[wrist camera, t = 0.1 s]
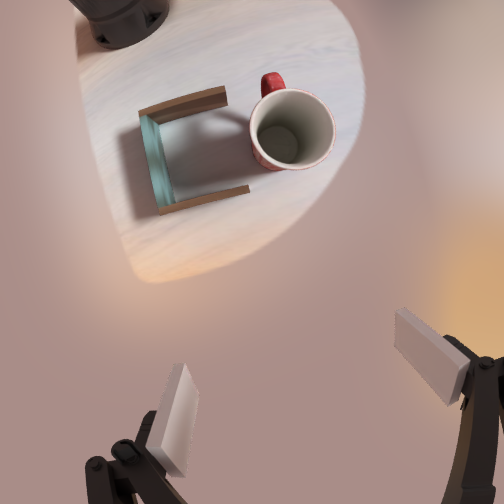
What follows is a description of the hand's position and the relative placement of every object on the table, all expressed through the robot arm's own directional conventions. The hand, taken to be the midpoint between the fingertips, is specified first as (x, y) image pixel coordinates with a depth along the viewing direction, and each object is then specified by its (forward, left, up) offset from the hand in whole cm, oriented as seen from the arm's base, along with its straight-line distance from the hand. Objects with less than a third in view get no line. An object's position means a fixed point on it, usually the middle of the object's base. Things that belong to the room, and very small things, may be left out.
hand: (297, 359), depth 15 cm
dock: (-17, -4, -27) cm, 32 cm away
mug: (-17, +6, -28) cm, 33 cm away
